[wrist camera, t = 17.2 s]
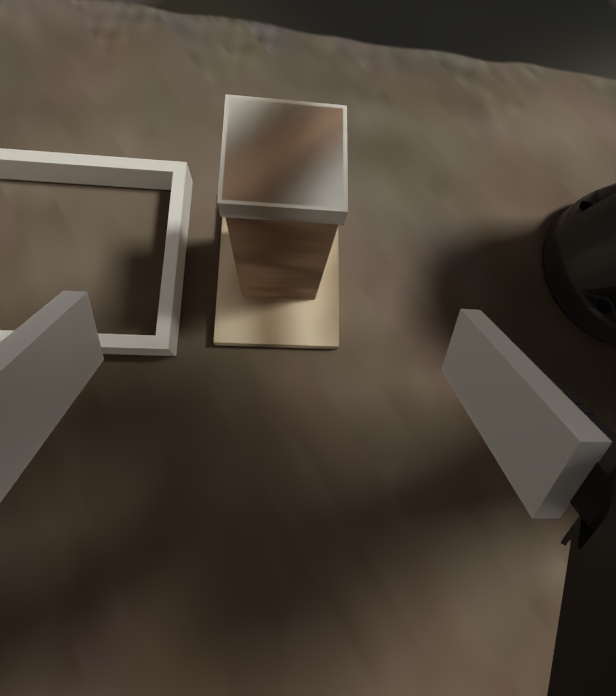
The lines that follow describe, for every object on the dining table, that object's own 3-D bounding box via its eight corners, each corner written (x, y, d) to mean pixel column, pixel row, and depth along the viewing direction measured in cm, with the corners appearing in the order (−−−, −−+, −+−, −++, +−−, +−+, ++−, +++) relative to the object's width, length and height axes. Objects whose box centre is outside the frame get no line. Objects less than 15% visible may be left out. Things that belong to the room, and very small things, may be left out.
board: (335, 201, 35) (337, 194, 34) (336, 349, 32) (338, 346, 31) (225, 193, 34) (224, 186, 33) (215, 345, 31) (213, 342, 30)
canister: (318, 232, 33) (346, 105, 20) (317, 302, 31) (347, 211, 19) (243, 227, 32) (225, 94, 20) (239, 298, 31) (217, 202, 18)
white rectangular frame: (192, 181, 34) (186, 162, 32) (176, 356, 30) (168, 349, 28) (-48, 165, 32) (-74, 142, 30) (-96, 348, 29) (-130, 339, 26)
